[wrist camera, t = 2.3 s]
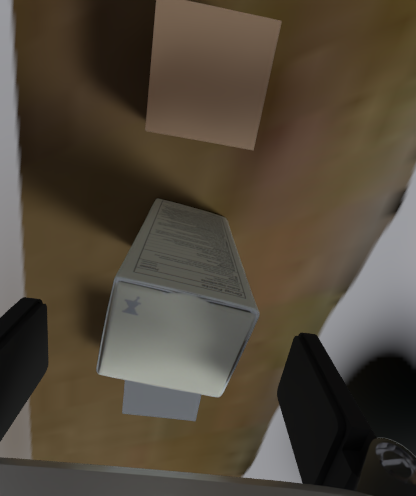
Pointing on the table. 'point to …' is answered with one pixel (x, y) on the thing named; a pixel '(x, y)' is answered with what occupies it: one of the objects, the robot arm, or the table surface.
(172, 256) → the box
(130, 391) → the grey cube
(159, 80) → the tan cube
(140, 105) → the table surface
